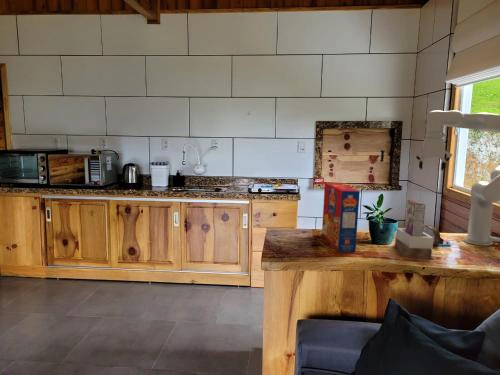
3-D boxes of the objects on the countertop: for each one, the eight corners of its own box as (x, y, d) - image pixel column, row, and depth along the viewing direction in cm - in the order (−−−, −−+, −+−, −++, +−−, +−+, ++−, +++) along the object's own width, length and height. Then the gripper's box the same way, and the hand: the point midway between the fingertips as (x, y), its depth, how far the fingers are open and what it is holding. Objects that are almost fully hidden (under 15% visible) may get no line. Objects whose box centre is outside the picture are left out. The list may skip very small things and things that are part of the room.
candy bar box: (404, 233, 178) (407, 199, 176) (415, 233, 178) (418, 199, 176) (411, 239, 167) (414, 203, 165) (422, 240, 167) (426, 203, 165)
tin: (440, 247, 181) (442, 230, 180) (433, 247, 181) (435, 230, 180) (426, 239, 196) (428, 223, 195) (420, 238, 196) (422, 223, 195)
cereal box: (321, 235, 197) (324, 182, 193) (336, 235, 198) (340, 183, 194) (338, 252, 169) (342, 190, 166) (355, 252, 170) (359, 191, 166)
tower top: (416, 238, 181) (417, 228, 180) (432, 248, 165) (433, 237, 164) (395, 238, 181) (396, 227, 180) (409, 248, 165) (410, 236, 164)
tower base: (421, 248, 181) (422, 239, 180) (430, 260, 163) (431, 250, 163) (394, 246, 183) (395, 237, 183) (401, 257, 166) (402, 247, 165)
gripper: (452, 136, 189) (449, 170, 191) (415, 135, 195) (412, 168, 197) (455, 136, 182) (451, 171, 184) (416, 135, 188) (413, 169, 191)
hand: (431, 169), depth 191 cm, fingers open, 9 cm apart
